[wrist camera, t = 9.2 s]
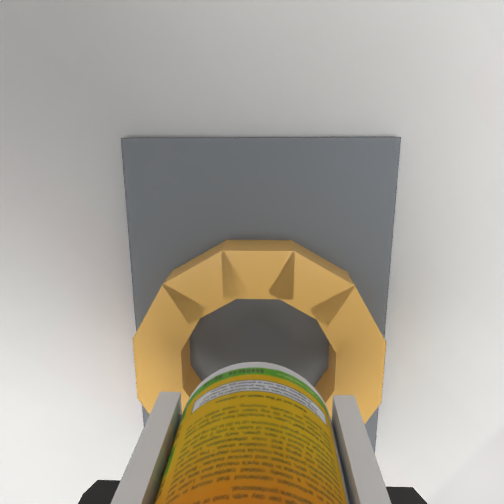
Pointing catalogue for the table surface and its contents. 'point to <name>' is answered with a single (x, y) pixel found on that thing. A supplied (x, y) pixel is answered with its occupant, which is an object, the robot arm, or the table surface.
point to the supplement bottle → (254, 442)
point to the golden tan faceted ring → (260, 287)
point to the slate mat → (262, 232)
